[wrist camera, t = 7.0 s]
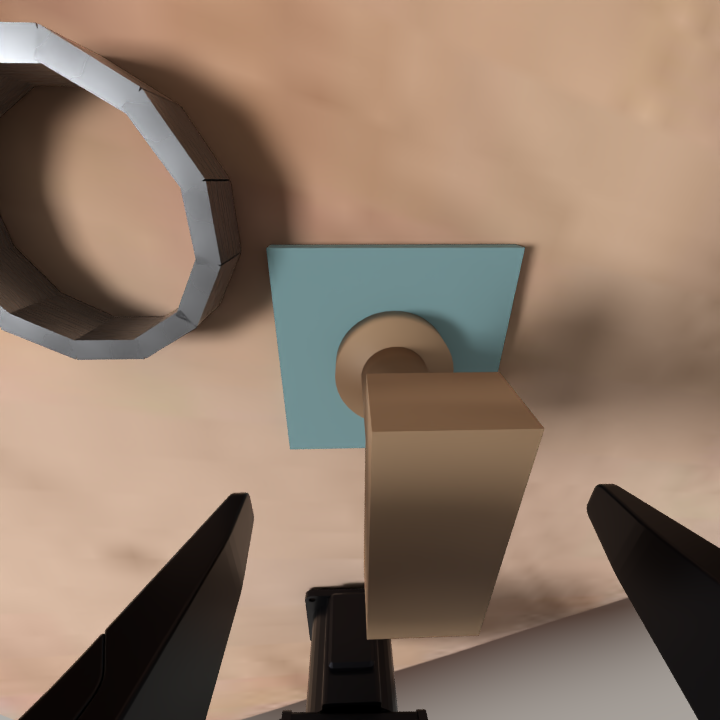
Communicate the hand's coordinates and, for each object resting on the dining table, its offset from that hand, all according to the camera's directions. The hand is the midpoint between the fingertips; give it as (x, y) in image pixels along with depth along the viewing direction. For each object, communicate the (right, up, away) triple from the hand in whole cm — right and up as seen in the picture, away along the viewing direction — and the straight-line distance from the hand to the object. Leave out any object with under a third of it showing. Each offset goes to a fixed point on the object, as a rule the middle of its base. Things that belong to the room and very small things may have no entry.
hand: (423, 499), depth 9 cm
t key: (0, +3, +7) cm, 8 cm away
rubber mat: (0, +4, +7) cm, 8 cm away
